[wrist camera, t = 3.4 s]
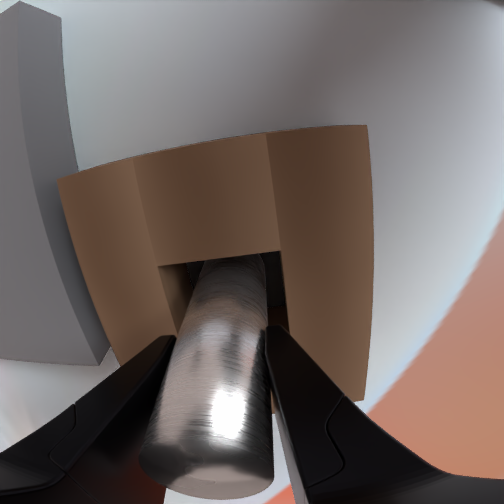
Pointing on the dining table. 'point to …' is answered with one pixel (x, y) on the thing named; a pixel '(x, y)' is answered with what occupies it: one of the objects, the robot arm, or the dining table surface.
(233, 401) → the steel pin
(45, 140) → the socket plate
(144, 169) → the walnut mount
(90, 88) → the dining table surface
